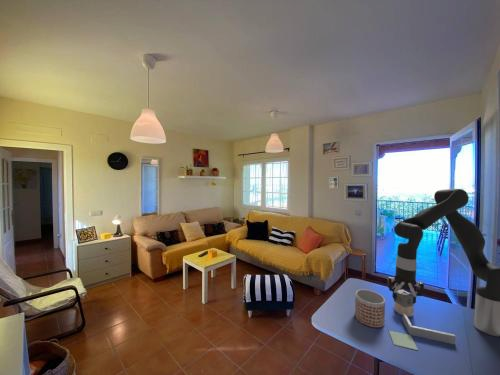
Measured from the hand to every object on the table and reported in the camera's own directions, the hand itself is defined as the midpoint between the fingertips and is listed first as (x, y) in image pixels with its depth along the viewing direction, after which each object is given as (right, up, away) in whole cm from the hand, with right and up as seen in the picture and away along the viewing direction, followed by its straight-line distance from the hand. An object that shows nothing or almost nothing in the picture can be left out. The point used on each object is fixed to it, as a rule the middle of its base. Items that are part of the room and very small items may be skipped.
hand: (403, 301), depth 97 cm
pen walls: (+16, -18, +6) cm, 25 cm away
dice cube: (-1, -1, 0) cm, 1 cm away
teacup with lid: (+15, -17, +22) cm, 32 cm away
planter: (-8, -18, +15) cm, 24 cm away
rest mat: (0, -18, 0) cm, 18 cm away
